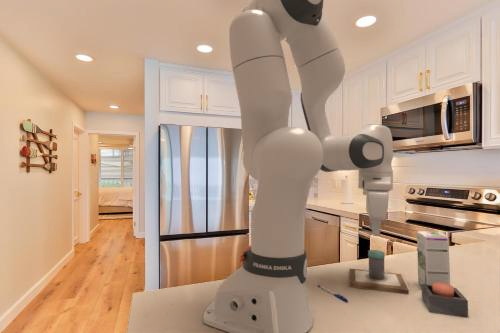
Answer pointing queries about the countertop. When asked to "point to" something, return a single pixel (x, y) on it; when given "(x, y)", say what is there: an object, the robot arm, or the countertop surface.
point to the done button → (442, 289)
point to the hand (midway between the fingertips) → (374, 232)
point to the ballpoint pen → (334, 294)
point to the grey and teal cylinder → (376, 264)
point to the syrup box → (433, 258)
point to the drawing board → (378, 282)
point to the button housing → (445, 302)
